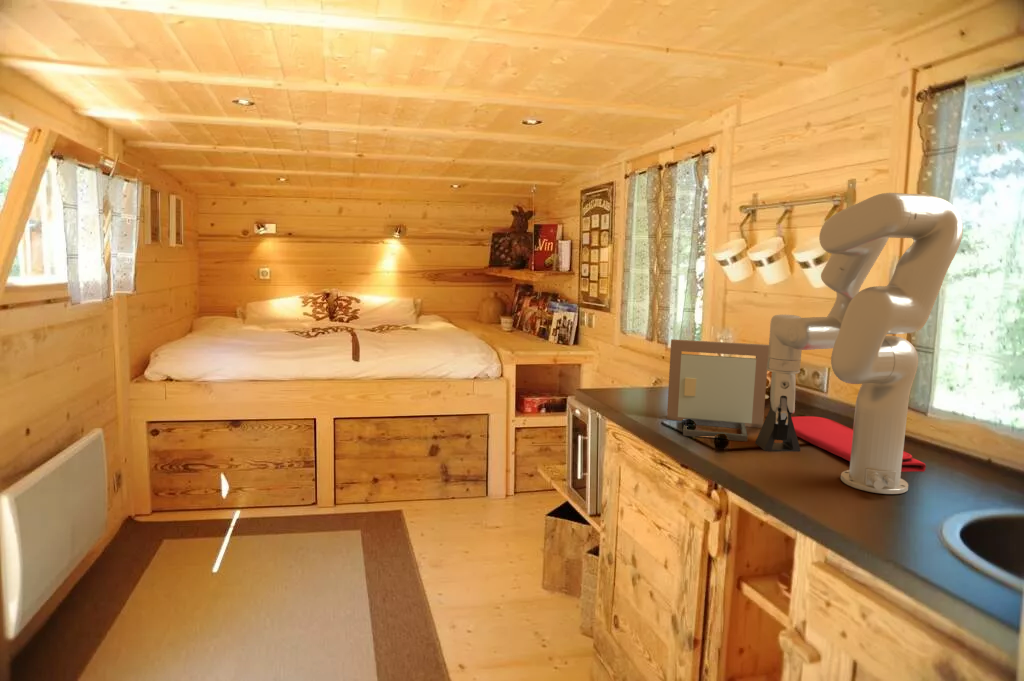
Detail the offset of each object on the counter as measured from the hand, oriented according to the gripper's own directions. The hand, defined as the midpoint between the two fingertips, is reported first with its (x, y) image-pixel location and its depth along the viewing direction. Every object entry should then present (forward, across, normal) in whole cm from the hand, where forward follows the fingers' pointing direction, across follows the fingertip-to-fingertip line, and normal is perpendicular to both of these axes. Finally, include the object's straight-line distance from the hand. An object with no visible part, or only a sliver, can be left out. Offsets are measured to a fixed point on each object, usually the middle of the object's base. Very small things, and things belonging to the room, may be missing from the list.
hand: (778, 435), depth 168 cm
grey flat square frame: (+3, +10, +15) cm, 18 cm away
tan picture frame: (+3, +20, +15) cm, 25 cm away
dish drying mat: (+4, +8, -16) cm, 18 cm away
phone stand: (+3, 0, 0) cm, 3 cm away
